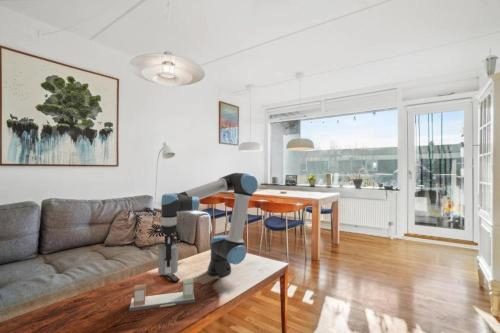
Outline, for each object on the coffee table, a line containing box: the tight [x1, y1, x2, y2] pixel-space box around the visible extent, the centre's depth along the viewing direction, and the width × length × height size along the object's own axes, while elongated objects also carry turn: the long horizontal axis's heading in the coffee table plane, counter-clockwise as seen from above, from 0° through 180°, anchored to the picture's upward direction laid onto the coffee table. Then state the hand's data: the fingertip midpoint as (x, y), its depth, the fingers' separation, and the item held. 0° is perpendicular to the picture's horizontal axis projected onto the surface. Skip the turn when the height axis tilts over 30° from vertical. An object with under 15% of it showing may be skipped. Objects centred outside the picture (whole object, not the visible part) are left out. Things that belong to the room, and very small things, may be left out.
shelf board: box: [128, 291, 196, 312], centre depth 130 cm, size 30×12×2 cm, turn 108°
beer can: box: [157, 243, 179, 276], centre depth 131 cm, size 10×10×12 cm
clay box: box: [133, 283, 147, 306], centre depth 127 cm, size 5×4×8 cm
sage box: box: [182, 278, 195, 299], centre depth 134 cm, size 5×4×8 cm
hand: (168, 268), depth 131 cm, fingers closed on beer can, 9 cm apart
